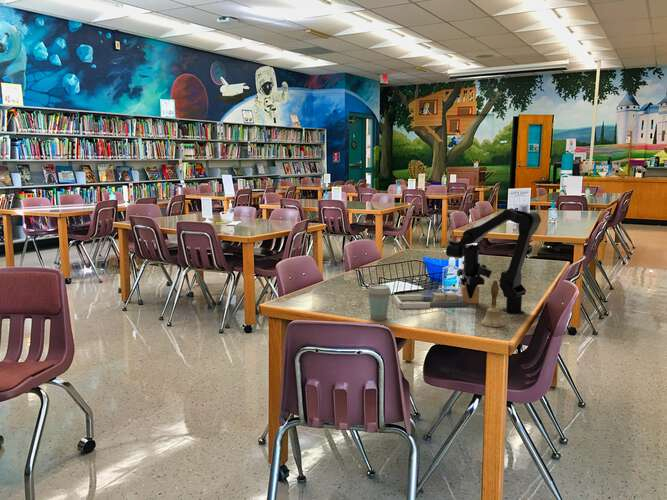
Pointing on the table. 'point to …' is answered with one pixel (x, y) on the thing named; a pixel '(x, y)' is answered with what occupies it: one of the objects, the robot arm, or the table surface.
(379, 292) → the coffee cup
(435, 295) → the tan wooden cube
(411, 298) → the tray
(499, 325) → the hand bell
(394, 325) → the table surface
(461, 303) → the slot rails
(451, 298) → the beige cube
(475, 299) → the tan rectangular block
